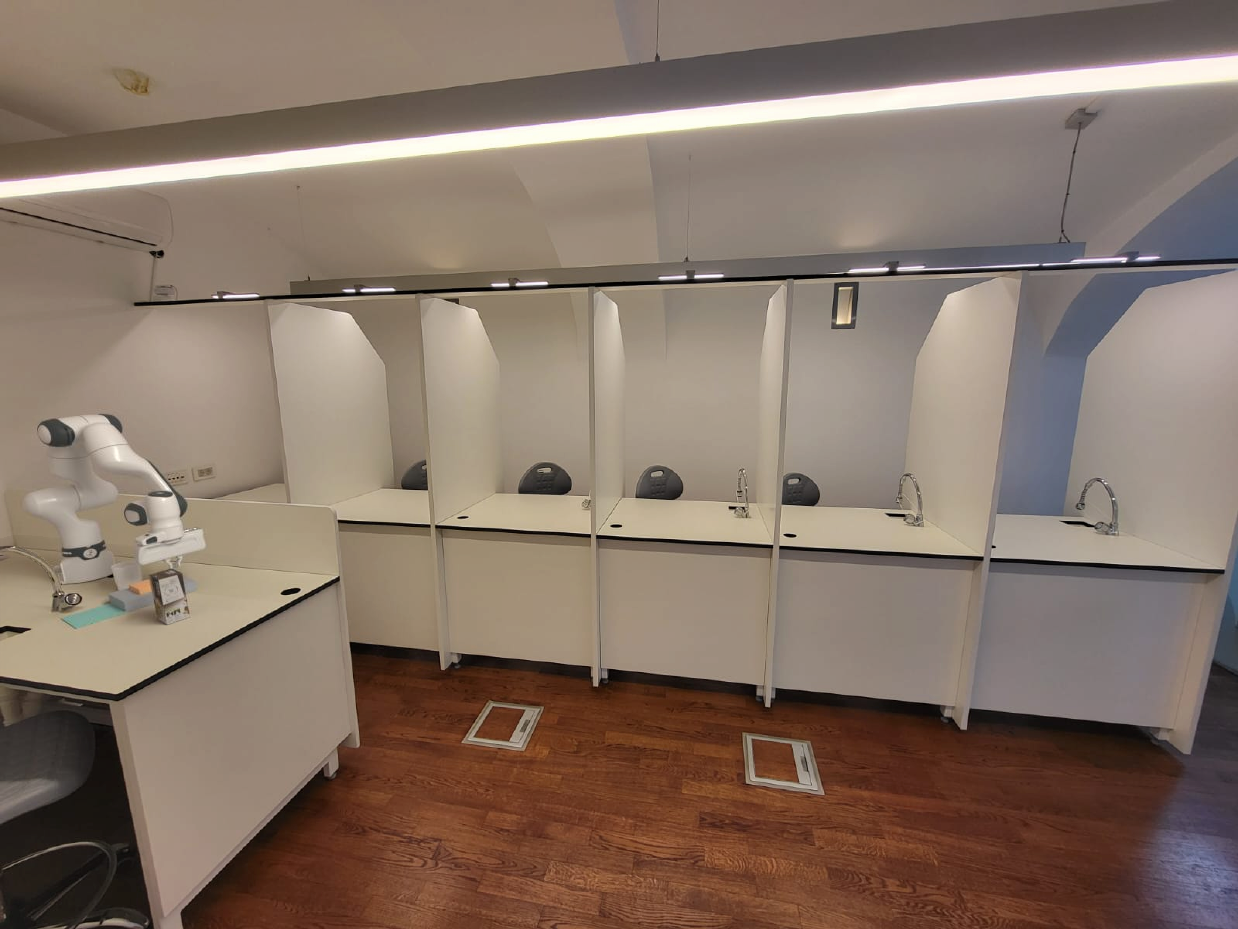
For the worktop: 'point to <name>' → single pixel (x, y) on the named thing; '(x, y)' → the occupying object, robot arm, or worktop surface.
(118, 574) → the white cup
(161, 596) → the coffee box
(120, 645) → the worktop surface
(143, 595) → the gray block
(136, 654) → the worktop surface
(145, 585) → the orange block
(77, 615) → the mat
